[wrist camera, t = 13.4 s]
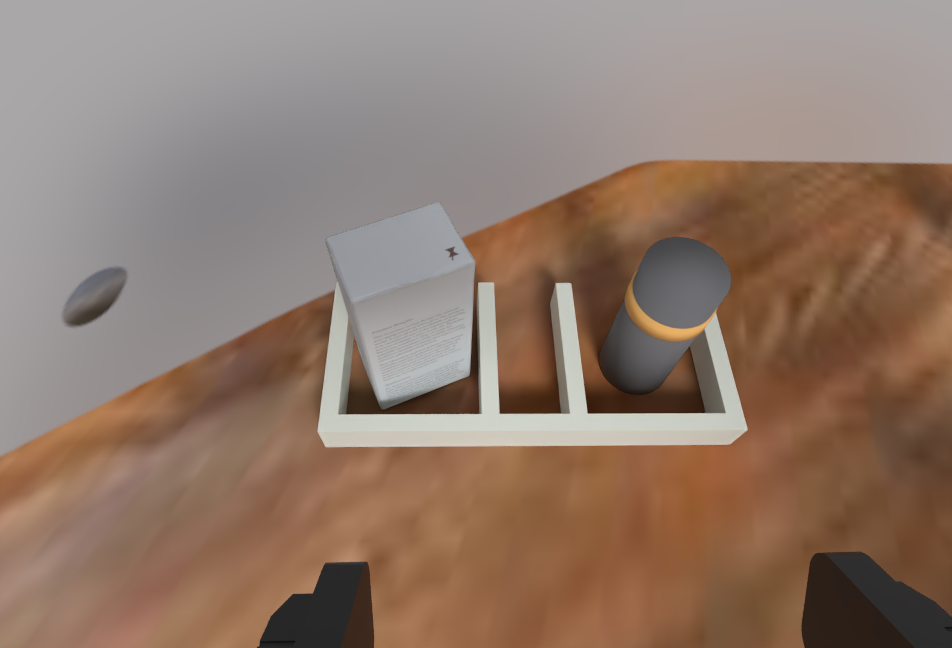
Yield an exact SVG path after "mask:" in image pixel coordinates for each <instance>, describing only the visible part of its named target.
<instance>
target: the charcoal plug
mask: <svg viewBox="0 0 952 648" xmlns="http://www.w3.org/2000/svg"><path fill="white" fill-rule="evenodd" d="M730 286H731V275H730V271H729V268H728V266H727V264H726V263H725V261H724V260H723V258H722V257H721V256H720V255H719V254H718V253H717V252H716V251H715V250H713V249H712V248H710V247H709V246H707V245H706V244H703V243H701V242H699V241H696V240H693V239H689V238H683V237H672V238H666V239H663V240H660V241H658V242H656V243H655V244H653V245H652V246H651V247H650V248H649V249H648V250H647V252H646V254H645V256H644V258H643V260H642V262H641V264H640V266H639V268H638V269H637V270H636V272H635V273H634V275H633V277H632V279H631V281H630V283H629V286H628V288H627V290H626V294H625V299H624V301H623V303H622V305H621V307H620V309H619V312H618V314H617V316H616V318H615V320H614V322H613V324H612V327H611V329H610V331H609V333H608V335H607V337H606V339H605V342H604V344H603V346H602V348H601V350H600V354H599V365H600V369H601V371H602V373H603V375H604V377H605V378H606V379H607V381H608V382H609V383H610V384H612V385H613V386H614V387H616V388H617V389H619V390H621V391H623V392H626V393H629V394H637V395H640V394H647V393H650V392H652V391H654V390H656V389H657V388H659V387H660V386H661V384H662V383H663V382H664V380H665V379H666V378H667V376H668V375H669V374H670V372H671V371H672V369H673V368H674V367H675V365H676V364H677V363H678V361H679V360H680V358H681V357H682V356H683V354H684V353H685V352H686V350H687V349H688V347H689V346H690V345H691V343H692V342H693V341H694V339H695V338H696V336H698V335H699V334H700V333H701V332H702V331H703V330H704V329H705V327H706V326H707V325H708V323H709V322H710V321H711V319H712V318H713V317H714V315H715V313H716V311H717V308H718V306H719V305H720V303H721V302H722V301H723V299H724V298H725V297H726V295H727V294H728V292H729V290H730Z"/></svg>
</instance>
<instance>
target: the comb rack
mask: <svg viewBox="0 0 952 648" xmlns="http://www.w3.org/2000/svg"><path fill="white" fill-rule="evenodd" d="M550 309H551V319H552V329H553V339H554V349H555V358H556V368H557V378H558V388H559V398H560V408H561V414H500V413H499V390H498V367H497V344H496V321H495V298H494V283H484V282H478V292H477V340H478V380H479V414H346V413H347V403H348V393H349V383H350V373H351V363H352V352H353V342H354V333H353V330H352V327H351V323H350V320H349V317H348V313H347V310H346V307H345V304H344V300H343V297H342V294H341V291H340V287H339V284H338V281H337V282H336V288H335V296H334V304H333V312H332V320H331V328H330V336H329V344H328V352H327V360H326V368H325V376H324V384H323V392H322V400H321V408H320V416H319V424H318V433H319V435H320V437H321V439H322V441H323V443H324V445H325V447H429V446H604V445H730V444H731V443H732V442H733V441H735V440H736V439H737V438H738V437H740V436H741V435H742V434H743V433H744V432H746V431H747V430H748V429H747V425H746V422H745V418H744V414H743V411H742V407H741V403H740V400H739V396H738V392H737V389H736V385H735V381H734V378H733V374H732V370H731V367H730V363H729V359H728V356H727V352H726V348H725V344H724V341H723V337H722V333H721V330H720V326H719V322H718V319H717V315H716V313H715V315H714V317H713V318H712V319H711V321H710V322H709V323H708V325H707V326H706V327H705V329H704V330H703V331H702V332H701V333H700V334H699V335H698V336H696V338H695V339H694V341H693V342H692V343H691V345H690V349H691V353H692V357H693V362H694V366H695V370H696V374H697V379H698V383H699V387H700V391H701V396H702V400H703V404H704V408H705V412H706V413H646V414H588V413H587V405H586V397H585V389H584V381H583V373H582V365H581V357H580V349H579V341H578V333H577V325H576V317H575V310H574V302H573V294H572V286H571V283H556V284H555V288H554V291H553V295H552V299H551V302H550Z"/></svg>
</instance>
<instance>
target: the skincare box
mask: <svg viewBox="0 0 952 648" xmlns="http://www.w3.org/2000/svg"><path fill="white" fill-rule="evenodd" d="M326 245H327V248H328V251H329V255H330V258H331V261H332V265H333V268H334V271H335V274H336V277H337V281H338V284H339V287H340V291H341V294H342V297H343V300H344V304H345V307H346V310H347V313H348V317H349V320H350V323H351V327H352V330H353V333H354V337H355V340H356V343H357V347H358V350H359V354H360V356H361V359H362V362H363V364H364V367H365V370H366V372H367V375H368V378H369V380H370V383H371V385H372V388H373V390H374V393H375V396H376V398H377V401H378V403H379V406H380V408H381V409H382V410H385V409H387V408H389V407H392V406H394V405H397V404H399V403H402V402H404V401H407V400H409V399H412V398H414V397H417V396H420V395H422V394H425V393H427V392H430V391H432V390H435V389H437V388H440V387H442V386H445V385H447V384H450V383H452V382H455V381H457V380H460V379H463V378H465V377H468V376H469V375H470V363H471V340H472V319H473V296H474V275H475V260H474V258H473V257H472V255H471V253H470V252H469V250H468V248H467V247H466V245H465V243H464V242H463V240H462V238H461V237H460V235H459V233H458V232H457V230H456V228H455V227H454V225H453V223H452V222H451V220H450V218H449V216H448V215H447V213H446V211H445V210H444V208H443V206H442V204H441V203H440V202H435V203H433V204H429V205H427V206H424V207H420V208H417V209H414V210H411V211H408V212H405V213H402V214H399V215H396V216H392V217H390V218H386V219H383V220H380V221H377V222H374V223H371V224H368V225H365V226H361V227H359V228H355V229H352V230H349V231H346V232H343V233H340V234H336V235H333V236H330V237H327V238H326Z"/></svg>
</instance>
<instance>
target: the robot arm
mask: <svg viewBox="0 0 952 648" xmlns="http://www.w3.org/2000/svg"><path fill="white" fill-rule="evenodd" d="M802 637H803V642H804V646H805V648H952V617H951V616H950V615H949V614H948V613H947V612H945V611H944V610H943V609H942V608H941V607H940V606H939V605H938V604H937V603H936V602H934V601H932V600H931V599H929V598H927V597H926V596H924V595H922V594H921V593H919V592H917V591H916V590H914V589H912V588H911V587H909V586H907V585H905V584H904V583H902V582H900V581H899V582H895V581H894V580H893V579H892V578H891V577H890V576H889V575H888V574H887V573H886V572H885V571H884V570H883V569H882V568H881V567H880V566H879V565H878V564H876V563H875V562H874V561H873V560H872V559H871V558H870V557H869V556H868V555H866V554H864V553H862V552H832V553H816V554H815V555H814V556H813V557H812V559H811V562H810V567H809V575H808V582H807V589H806V596H805V604H804V611H803V618H802ZM257 648H374V628H373V614H372V600H371V586H370V572H369V566H368V563H367V562H336V563H325V565H324V566H323V568H322V571H321V574H320V576H319V579H318V582H317V584H316V587H315V590H314V592H313V594H293V595H292V596H291V597H290V598H289V599H288V600H287V601H286V602H285V603H284V604H283V605H282V606H281V607H280V608H279V609H278V610H277V611H276V612H275V613H274V614H273V615H272V616H271V618H270V620H269V622H268V624H267V627H266V629H265V631H264V633H263V635H262V638H261V640H260V645H259V647H257Z"/></svg>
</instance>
